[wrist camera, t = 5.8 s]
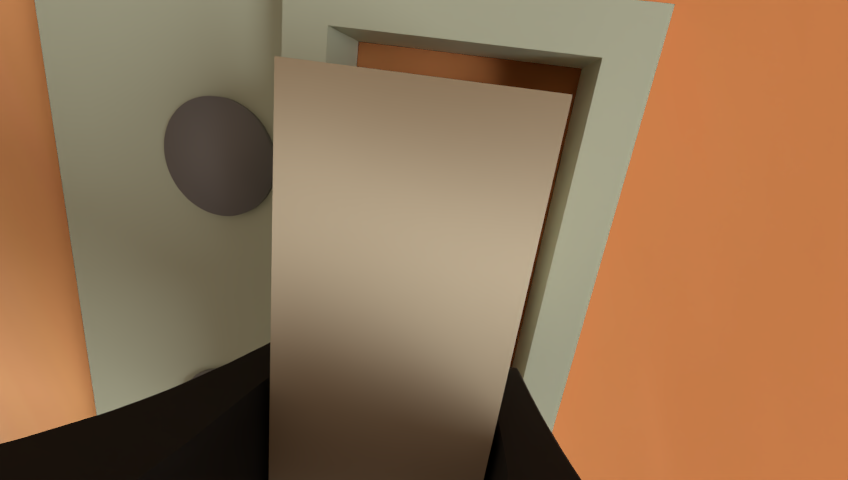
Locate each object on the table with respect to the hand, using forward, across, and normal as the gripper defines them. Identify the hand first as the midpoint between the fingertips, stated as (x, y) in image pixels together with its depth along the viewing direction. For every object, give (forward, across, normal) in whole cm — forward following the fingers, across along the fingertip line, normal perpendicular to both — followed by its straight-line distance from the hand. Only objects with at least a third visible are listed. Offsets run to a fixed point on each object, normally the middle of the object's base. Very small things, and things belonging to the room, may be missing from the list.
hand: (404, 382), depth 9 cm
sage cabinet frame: (+3, +4, 0) cm, 5 cm away
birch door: (+3, 0, 0) cm, 3 cm away
